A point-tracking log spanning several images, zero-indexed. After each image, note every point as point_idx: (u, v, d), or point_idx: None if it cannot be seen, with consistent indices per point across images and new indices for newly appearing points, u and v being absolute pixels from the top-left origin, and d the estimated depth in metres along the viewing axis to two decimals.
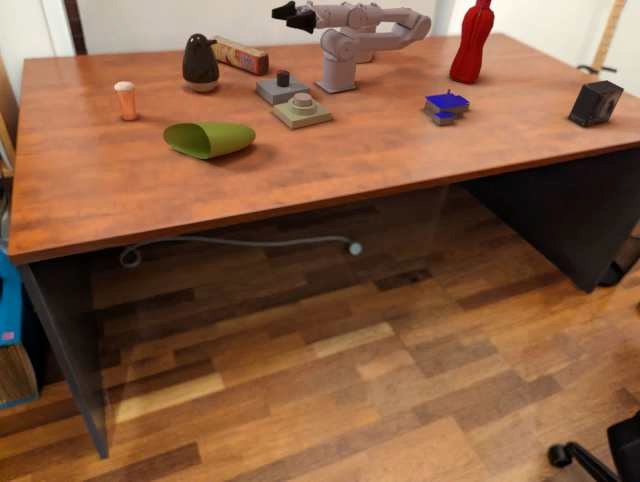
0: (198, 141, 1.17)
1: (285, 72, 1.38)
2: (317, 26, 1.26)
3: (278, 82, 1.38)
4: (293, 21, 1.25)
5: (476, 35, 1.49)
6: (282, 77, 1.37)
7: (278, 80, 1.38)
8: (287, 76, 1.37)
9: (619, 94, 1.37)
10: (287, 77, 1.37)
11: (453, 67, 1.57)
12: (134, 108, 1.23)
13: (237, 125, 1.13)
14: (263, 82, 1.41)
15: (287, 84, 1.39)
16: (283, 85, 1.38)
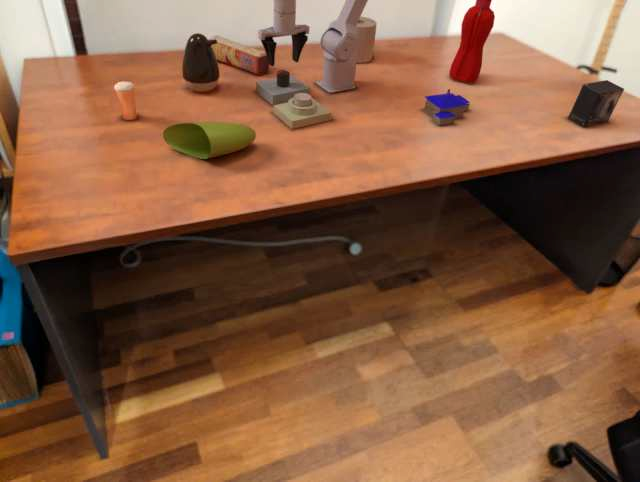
0: (198, 141, 1.17)
1: (285, 72, 1.38)
2: None
3: (278, 82, 1.38)
4: (269, 59, 1.33)
5: (476, 35, 1.49)
6: (282, 77, 1.37)
7: (278, 80, 1.38)
8: (287, 76, 1.37)
9: (619, 94, 1.37)
10: (287, 77, 1.37)
11: (453, 67, 1.57)
12: (134, 108, 1.23)
13: (237, 125, 1.13)
14: (263, 82, 1.41)
15: (287, 84, 1.39)
16: (283, 85, 1.38)
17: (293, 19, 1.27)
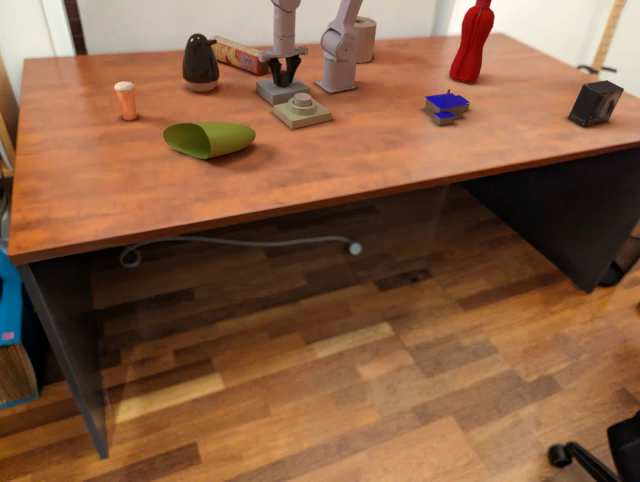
0: (198, 141, 1.17)
1: (285, 72, 1.38)
2: None
3: None
4: (274, 79, 1.38)
5: (476, 35, 1.49)
6: (282, 77, 1.37)
7: None
8: (287, 76, 1.37)
9: (619, 94, 1.37)
10: (287, 77, 1.37)
11: (453, 67, 1.57)
12: (134, 108, 1.23)
13: (237, 125, 1.13)
14: (263, 82, 1.41)
15: (287, 84, 1.39)
16: (283, 85, 1.38)
17: (292, 42, 1.31)
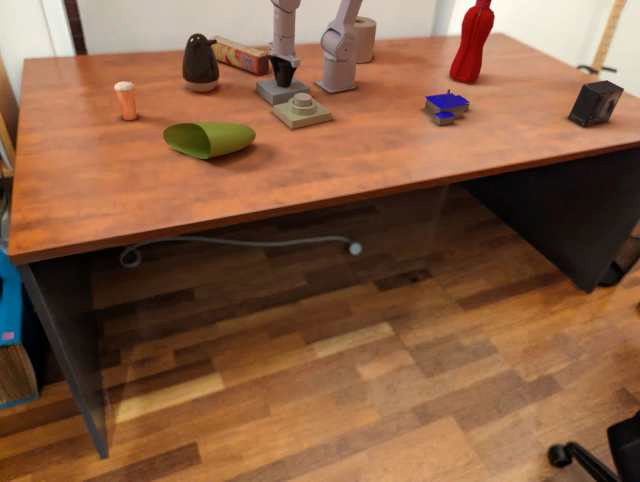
0: (198, 141, 1.17)
1: None
2: None
3: None
4: (287, 81, 1.37)
5: (476, 35, 1.49)
6: None
7: None
8: None
9: (619, 94, 1.37)
10: None
11: (453, 67, 1.57)
12: (134, 108, 1.23)
13: (237, 125, 1.13)
14: (263, 82, 1.41)
15: None
16: None
17: None
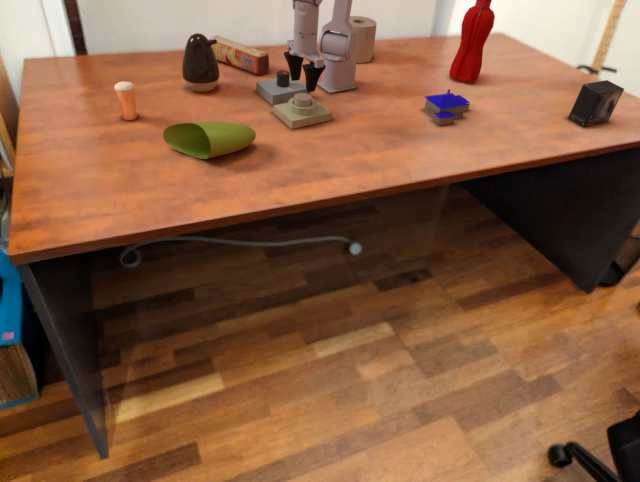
0: (198, 141, 1.17)
1: (282, 71, 1.38)
2: None
3: (287, 83, 1.39)
4: (311, 86, 1.23)
5: (476, 35, 1.49)
6: (289, 75, 1.38)
7: (287, 81, 1.38)
8: None
9: (619, 94, 1.37)
10: None
11: (453, 67, 1.57)
12: (134, 108, 1.23)
13: (237, 125, 1.13)
14: (263, 82, 1.41)
15: None
16: None
17: None
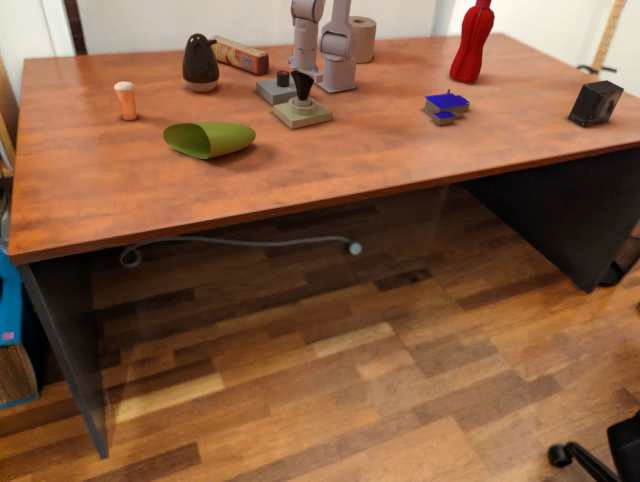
0: (198, 141, 1.17)
1: (282, 71, 1.38)
2: None
3: (287, 83, 1.39)
4: (304, 95, 1.28)
5: (476, 35, 1.49)
6: (289, 75, 1.38)
7: (287, 81, 1.38)
8: None
9: (619, 94, 1.37)
10: None
11: (453, 67, 1.57)
12: (134, 108, 1.23)
13: (237, 125, 1.13)
14: (263, 82, 1.41)
15: None
16: None
17: None
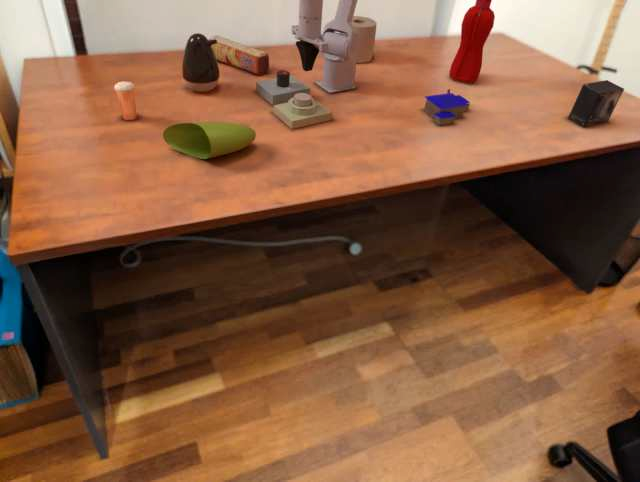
0: (198, 141, 1.17)
1: (282, 71, 1.38)
2: (325, 50, 1.22)
3: (287, 83, 1.39)
4: (309, 65, 1.29)
5: (476, 35, 1.49)
6: (289, 75, 1.38)
7: (287, 81, 1.38)
8: None
9: (619, 94, 1.37)
10: None
11: (453, 67, 1.57)
12: (134, 108, 1.23)
13: (237, 125, 1.13)
14: (263, 82, 1.41)
15: None
16: None
17: None
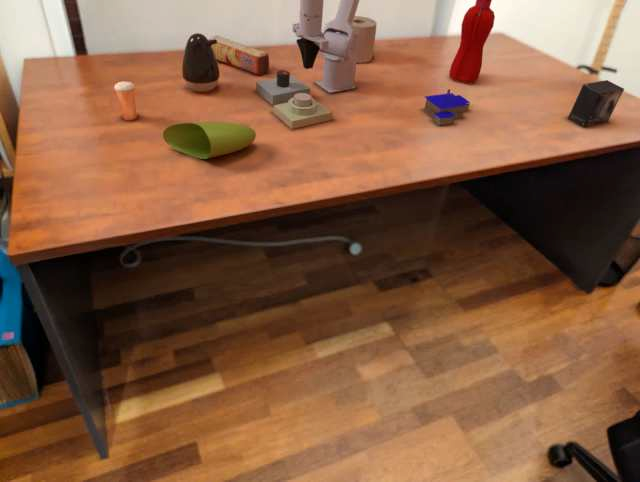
0: (198, 141, 1.17)
1: (282, 71, 1.38)
2: None
3: (287, 83, 1.39)
4: (309, 63, 1.30)
5: (476, 35, 1.49)
6: (289, 75, 1.38)
7: (287, 81, 1.38)
8: None
9: (619, 94, 1.37)
10: None
11: (453, 67, 1.57)
12: (134, 108, 1.23)
13: (237, 125, 1.13)
14: (263, 82, 1.41)
15: None
16: None
17: None
